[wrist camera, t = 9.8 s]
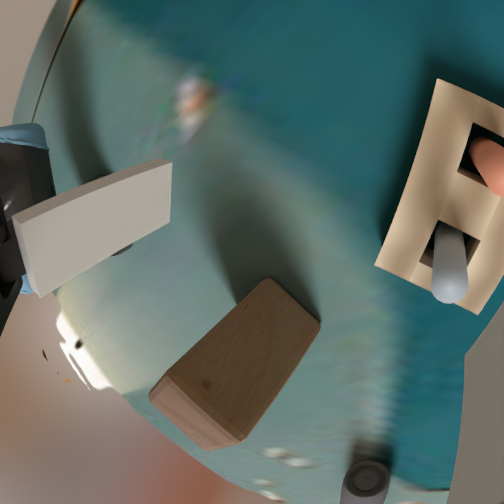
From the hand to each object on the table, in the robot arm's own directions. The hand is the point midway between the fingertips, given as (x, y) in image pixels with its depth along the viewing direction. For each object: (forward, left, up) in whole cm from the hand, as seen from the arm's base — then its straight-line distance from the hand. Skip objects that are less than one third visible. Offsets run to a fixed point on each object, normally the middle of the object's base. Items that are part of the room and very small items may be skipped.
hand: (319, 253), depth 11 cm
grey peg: (+8, -5, -22) cm, 24 cm away
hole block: (+8, -1, -22) cm, 24 cm away
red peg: (+8, +4, -22) cm, 24 cm away
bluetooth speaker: (+24, -58, -23) cm, 66 cm away
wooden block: (-7, -26, -22) cm, 35 cm away
